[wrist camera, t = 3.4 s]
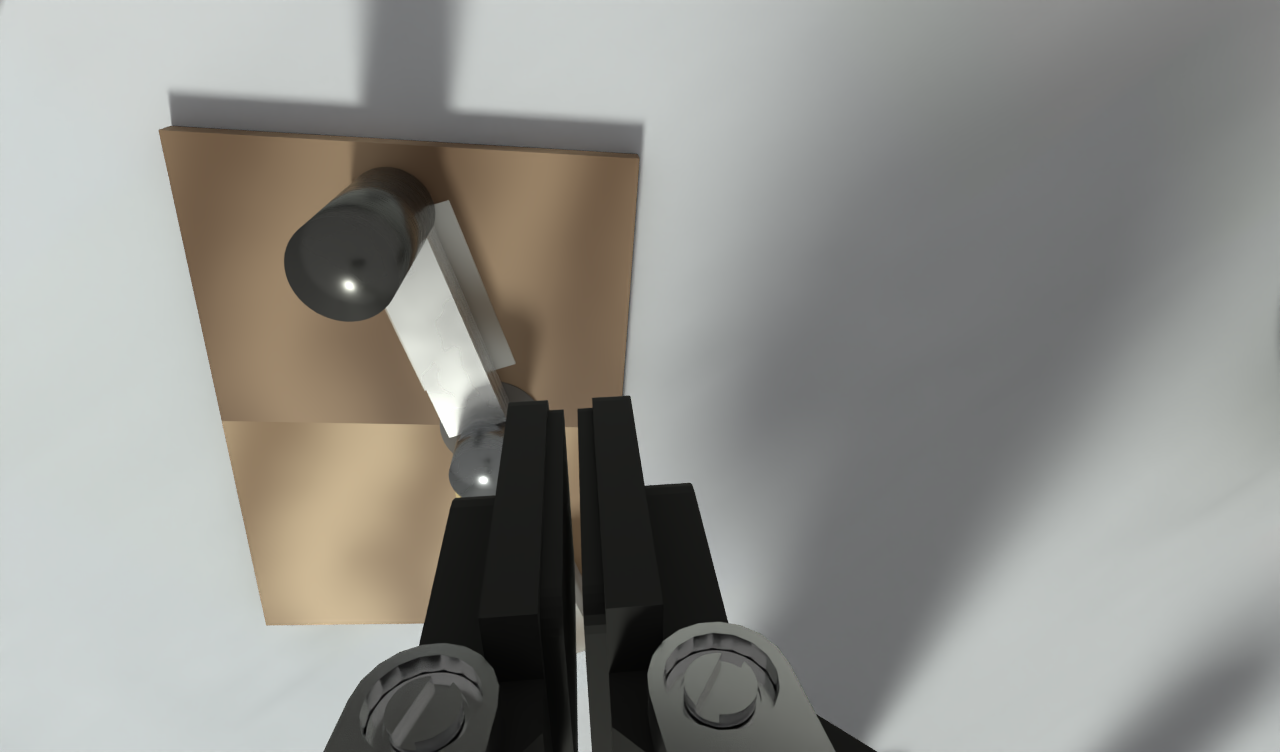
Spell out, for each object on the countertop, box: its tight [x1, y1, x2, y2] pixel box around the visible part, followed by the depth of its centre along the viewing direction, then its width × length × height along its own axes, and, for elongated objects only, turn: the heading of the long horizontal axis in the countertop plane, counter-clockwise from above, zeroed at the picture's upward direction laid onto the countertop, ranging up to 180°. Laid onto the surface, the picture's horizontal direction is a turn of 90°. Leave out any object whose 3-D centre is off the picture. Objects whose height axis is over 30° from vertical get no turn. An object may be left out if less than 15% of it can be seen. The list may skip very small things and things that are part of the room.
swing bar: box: [284, 167, 509, 497], centre depth 23 cm, size 12×3×6 cm, turn 16°
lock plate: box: [159, 126, 639, 653], centre depth 28 cm, size 15×21×3 cm
